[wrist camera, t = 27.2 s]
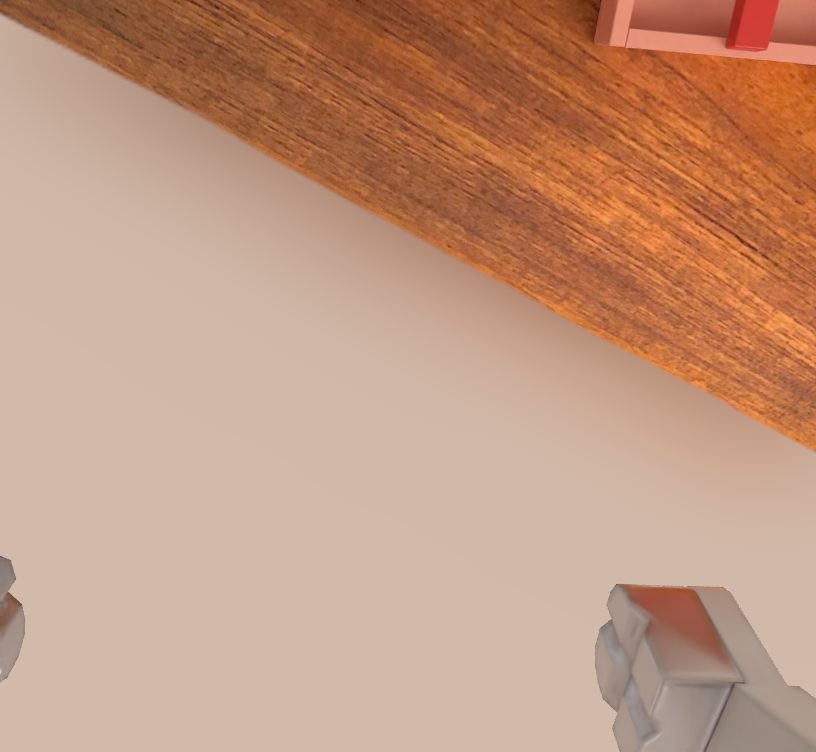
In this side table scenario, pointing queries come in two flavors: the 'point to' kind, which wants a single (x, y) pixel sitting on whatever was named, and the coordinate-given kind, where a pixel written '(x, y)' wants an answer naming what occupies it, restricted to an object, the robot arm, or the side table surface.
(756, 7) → the red spoon
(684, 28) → the tray
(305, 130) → the side table surface
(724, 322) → the side table surface
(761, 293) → the side table surface
